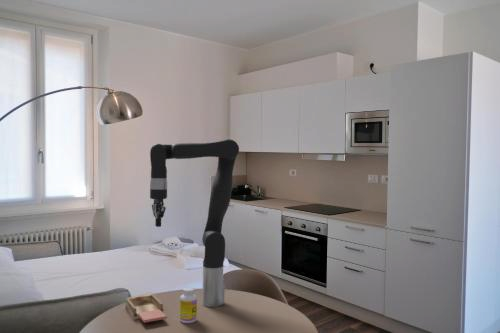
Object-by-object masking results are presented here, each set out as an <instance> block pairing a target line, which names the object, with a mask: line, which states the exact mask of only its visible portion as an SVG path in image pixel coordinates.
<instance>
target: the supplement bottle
mask: <svg viewBox="0 0 500 333" xmlns="http://www.w3.org/2000/svg"><path fill="white" fill-rule="evenodd" d="M195 290H196V289H195V287H193V286H192V287H191V286H188V287H184V288H182V295H180V298H179V300H180V301H179V302H180V303H179V304H180V305H179V321H180V322H181V323H183V324H193V323H194V322H196V321H197V314H198V313H197V311H198V306H197V305H198V297H197V295H196V294H195Z"/></svg>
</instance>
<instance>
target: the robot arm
mask: <svg viewBox="0 0 500 333" xmlns="http://www.w3.org/2000/svg"><path fill="white" fill-rule="evenodd" d="M239 151H240V146H239V144H238V142H237V141H235V140H233V139H224V140H220V141H215V142H205V143H202V142H201V143H199V142H198V143H197V142H196V143H192V142H190V143H188V142H187V143H185V142H184V143H173V144H162V143H155V144H154V145H152V146H151V148H150V152H149V157H150V167H151V168H150V184H149V198H150V199H151V200H153V203H152V204H151V209H152V214H153V217H154V218H155V223H154V224H155V225H154V226H155V227H157V228H160V227H162V218H164V216H165V212H166V209H167V207H166V206H165V202H164V200H165V199H167V198H168V180H167V179H168V170H167V166H166V164H167V160H171V159H172V160H173V159H175V160H182V159H183V160H185V159H186V160H189V159H197V158H198V159H199V158H207V157H208V158H210V157H212V158H217V160H218V161H217V168H216V172H215V175H214V179H213V183H212V186H211V190H210V199H209V205H208V212H207V218H206V219H207V220H206V224H205V228H204V229H203V230H204V232H203V234H202V240H201V241H202V244H203V247H204V258H203V261H202V299H201V300H202V302H201V304H202V306H204V307H207V308H209V307H210V308H214V307H215V308H216V307H220V306H222V305H224V304H225V296H226V294H225V293H226V292H225V291H226V290H225V289H226V288H225V287H226V285H225V282H224V262H225V257H226V254H225V253H226V239H225V238H226V237H225V236H224V234H222V228H223V222H224V218H225V215H226V213H227V211H228V208H229V206H230V203H231V197H232V192H233V190H232V189H233V172H234V167H235V163H236V160H237V156H238V154H239Z"/></svg>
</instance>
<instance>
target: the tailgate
mask: <svg viewBox="0 0 500 333" xmlns="http://www.w3.org/2000/svg"><path fill="white" fill-rule="evenodd" d="M138 316H139V318H140V319H139V320H141V321H142V323H144V324H145V323H150V322H155V321H160V320H167V317H168V316H167V314H165V313H164V311H163V312H162V311H161V310H160V309H159V310H153V311H147V312H142V313H138Z"/></svg>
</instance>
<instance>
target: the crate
mask: <svg viewBox="0 0 500 333" xmlns="http://www.w3.org/2000/svg"><path fill="white" fill-rule="evenodd" d="M163 307H164V304H163V303H162V301H161V300H159V299H158V297H157V296H155V295H154V294H153V293H152V294H146V295H140V296H139V295H138V296H133V297H126V298H125V310H126V311H127V312H128V314H129V315H130V317H131V318H132V319H133V320H134V321H135V320H141V319H140V318H139V316H138V313H142V312H147V311H153V310H159V309H160V310H161V311H162V312H163V313H164V308H163Z"/></svg>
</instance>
